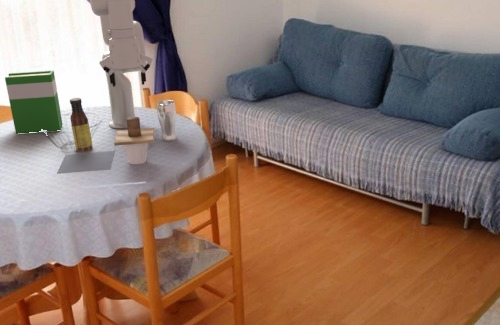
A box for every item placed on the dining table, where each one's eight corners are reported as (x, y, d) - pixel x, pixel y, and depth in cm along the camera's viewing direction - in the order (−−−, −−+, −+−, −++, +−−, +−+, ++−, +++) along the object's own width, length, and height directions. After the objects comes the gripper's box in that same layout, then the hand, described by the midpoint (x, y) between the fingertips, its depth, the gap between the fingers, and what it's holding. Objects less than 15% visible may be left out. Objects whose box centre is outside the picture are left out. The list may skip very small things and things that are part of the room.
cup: (127, 169, 199) (124, 144, 196) (119, 160, 208) (116, 136, 204) (155, 163, 204) (152, 139, 200) (146, 155, 212) (143, 131, 208)
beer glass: (179, 136, 230) (176, 99, 224) (175, 142, 223) (172, 104, 218) (162, 136, 230) (159, 99, 225) (158, 142, 224) (154, 104, 218)
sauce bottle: (96, 148, 220) (89, 97, 213) (85, 153, 215) (77, 102, 208) (82, 145, 223) (75, 96, 215) (71, 151, 218) (63, 100, 210)
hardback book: (16, 134, 238) (4, 77, 229) (19, 129, 245) (8, 73, 236) (60, 131, 240) (50, 74, 231) (62, 125, 247) (53, 70, 238)
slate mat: (65, 155, 214) (65, 154, 214) (115, 151, 216) (115, 150, 215) (56, 174, 197) (56, 173, 197) (110, 170, 199) (110, 169, 199)
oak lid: (117, 133, 207) (115, 114, 205) (154, 130, 209) (152, 111, 206) (114, 145, 195) (111, 125, 193) (153, 142, 197) (151, 123, 194)
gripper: (94, 37, 184) (101, 89, 191) (149, 34, 186) (154, 85, 192) (97, 33, 191) (103, 83, 197) (150, 30, 193) (154, 80, 199)
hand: (128, 84), depth 195 cm, fingers open, 9 cm apart
